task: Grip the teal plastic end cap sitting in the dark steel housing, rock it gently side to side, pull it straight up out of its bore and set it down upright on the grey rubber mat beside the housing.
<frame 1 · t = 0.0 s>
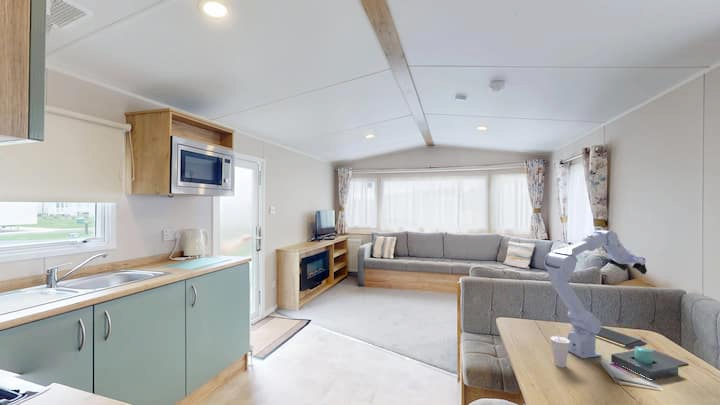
hand: (635, 270, 137), 32 cm above the table, tool tilted 50°, fingers open, 7 cm apart
grey book: (612, 339, 144), on the table
end cap: (643, 358, 118), in the housing
mat: (660, 359, 124), on the table
smoothie: (560, 365, 120), on the table
housing: (643, 368, 118), on the table
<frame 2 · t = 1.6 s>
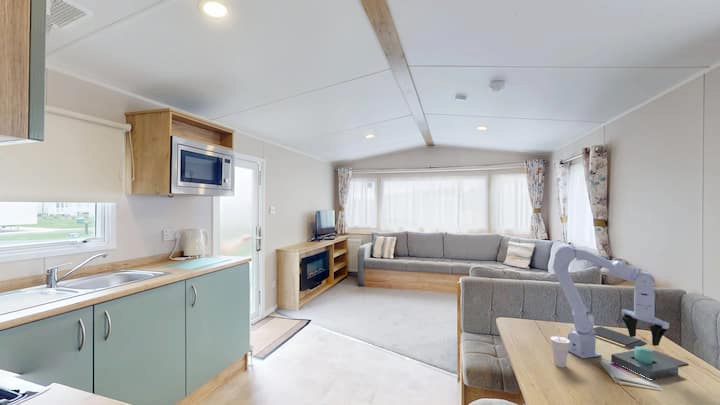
hand: (643, 340, 118), 10 cm above the table, tool pointing down, fingers open, 7 cm apart
nothing on the table moved.
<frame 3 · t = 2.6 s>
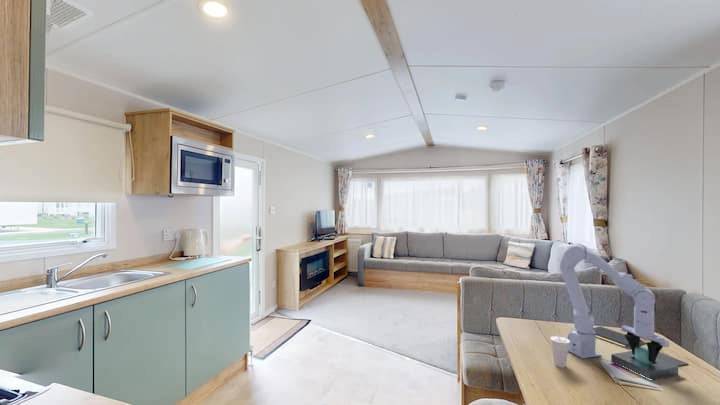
hand: (643, 357, 118), 4 cm above the table, tool pointing down, fingers closed on end cap, 5 cm apart
end cap: (643, 358, 118), in the housing, touching gripper
everything else where it was.
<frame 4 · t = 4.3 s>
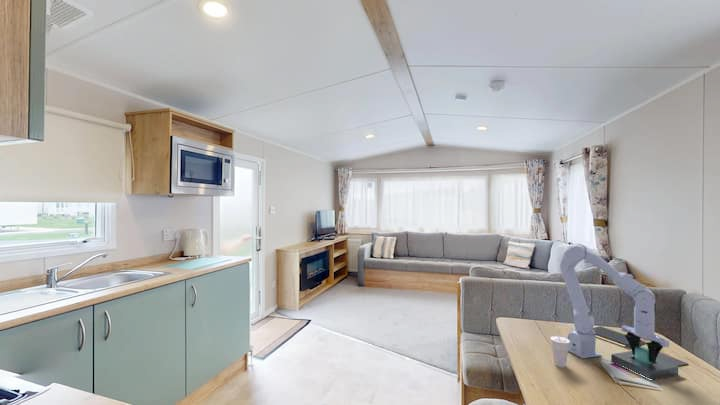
hand: (643, 357, 118), 4 cm above the table, tool pointing down, fingers closed on end cap, 5 cm apart
end cap: (643, 358, 118), in the housing, touching gripper
everything else where it was.
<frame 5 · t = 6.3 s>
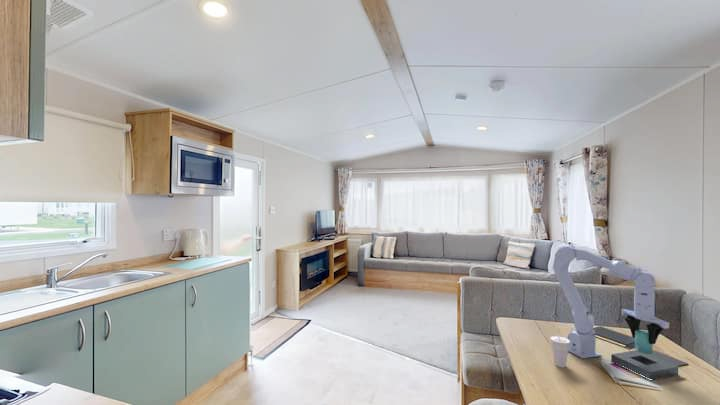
hand: (643, 340, 118), 10 cm above the table, tool pointing down, fingers closed on end cap, 5 cm apart
end cap: (643, 341, 118), point 10 cm above the table, touching gripper
everything else where it was.
when the fingers open (6 cm above the table, at t = 8.9 s): end cap drops 1 cm, resting on mat.
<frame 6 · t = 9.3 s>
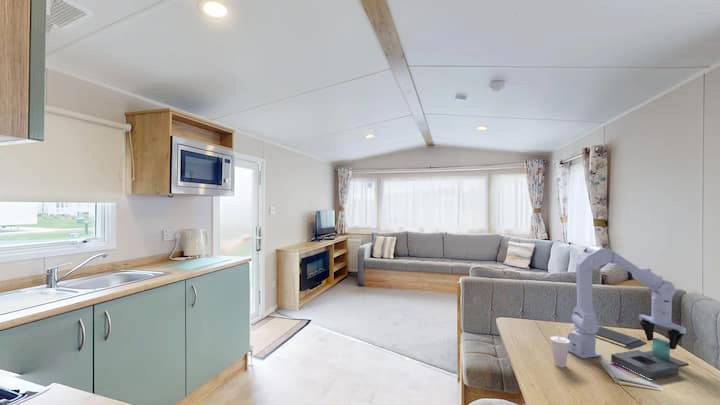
hand: (661, 344, 124), 6 cm above the table, tool pointing down, fingers open, 7 cm apart
end cap: (661, 349, 124), on the mat
everything else where it was.
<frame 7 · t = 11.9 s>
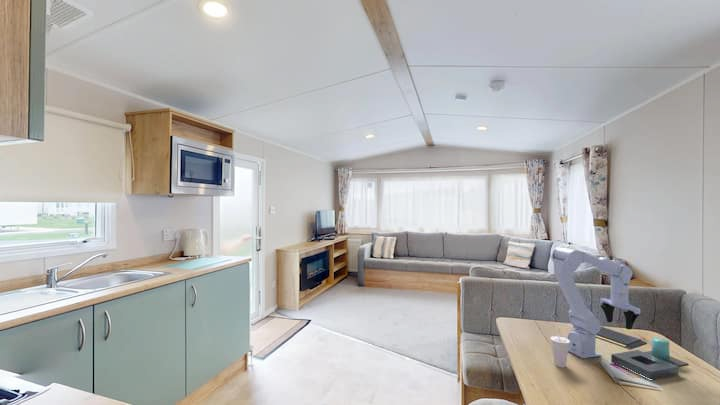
hand: (619, 325, 132), 10 cm above the table, tool pointing down, fingers open, 7 cm apart
nothing on the table moved.
at the end: end cap inside the target area on the mat (0.1 cm from its centre), point 4.0 cm above the mat's base; end cap tilted 2°; the gripper is holding nothing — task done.
